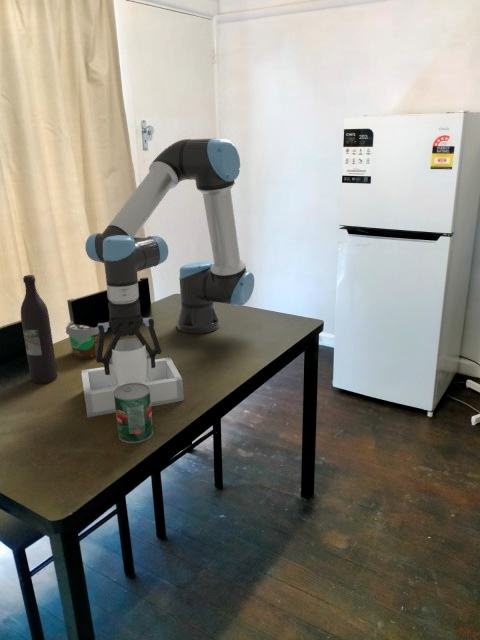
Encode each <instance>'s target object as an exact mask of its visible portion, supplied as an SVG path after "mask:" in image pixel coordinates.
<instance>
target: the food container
mask: <svg viewBox="0 0 480 640" xmlns="http://www.w3.org/2000/svg"><path fill="white" fill-rule="evenodd" d="M65 333H66V334H67V335H68V337H69V342H70V346H71V350H72V355H73V357H74V358H75V359H79V360H91V359H96V351H97V344H98V337H99V329H98V326H96V327H92V326H90V325H87V324H77V323H74V322H73V320H71V321H70V322H68V323H67V325H66V327H65Z"/></svg>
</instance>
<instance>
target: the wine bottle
mask: <svg viewBox="0 0 480 640" xmlns="http://www.w3.org/2000/svg"><path fill="white" fill-rule="evenodd" d="M22 279H23V283H24V287H25V295H24V299H23V301H22V304H21V306H20V321H21V326H22V332H23V339H24V345H25V351H26V357H27V363H28V370H29V377H30V380H31V382H32V383H33V384H39V385H43V384H49V383H52V382H53V381H55V380H57V378H58V371H57V370H58V369H57V364H56V363H57V362H56V355H55V349H54V343H53V335H52V334H53V333H52V329H51V321H50V314H49V311H48V307H47V305H46V303H45V302H44V300H43V298H42V297H41V296H40V295H39V293H38V291H37V287H36V277H35V275H34V274H27V275H23V278H22Z"/></svg>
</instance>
